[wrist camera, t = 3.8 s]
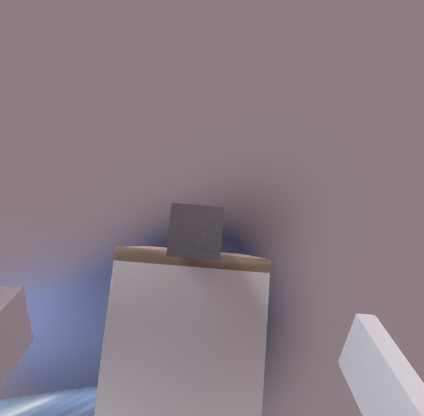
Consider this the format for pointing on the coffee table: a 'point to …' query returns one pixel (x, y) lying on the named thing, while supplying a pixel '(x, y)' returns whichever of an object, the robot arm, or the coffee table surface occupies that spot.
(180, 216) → the metal bar
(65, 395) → the coffee table surface
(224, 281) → the pedestal
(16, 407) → the coffee table surface
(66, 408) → the coffee table surface
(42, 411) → the coffee table surface
